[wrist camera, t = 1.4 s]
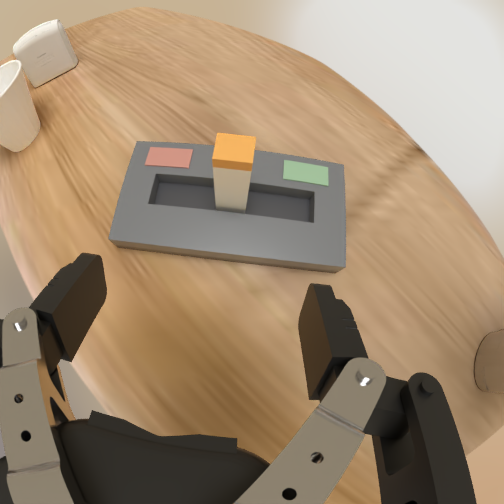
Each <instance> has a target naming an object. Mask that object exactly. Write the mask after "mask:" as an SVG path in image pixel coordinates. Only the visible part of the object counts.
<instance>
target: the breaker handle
mask: <svg viewBox="0 0 504 504" xmlns="http://www.w3.org/2000/svg"><path fill="white" fill-rule="evenodd" d="M255 141H256V137H252V136H243V135H234V134H224V133H217V137H216V142H215V147H214V152H213V157H212V164H213V178H214V191H215V203H216V211H224V212H233V213H241V214H245V210H246V204H247V197H248V191H249V184H250V178H251V172H252V165H253V158H254V149H255Z"/></svg>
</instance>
